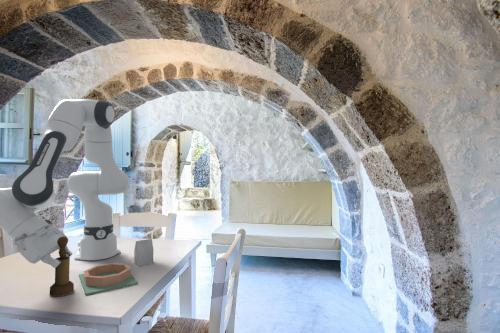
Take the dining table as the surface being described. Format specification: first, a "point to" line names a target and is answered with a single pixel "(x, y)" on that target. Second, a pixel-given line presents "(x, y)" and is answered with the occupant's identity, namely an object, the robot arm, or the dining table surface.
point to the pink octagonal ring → (108, 280)
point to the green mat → (95, 289)
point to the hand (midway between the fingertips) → (64, 260)
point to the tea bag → (143, 252)
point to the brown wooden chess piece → (62, 272)
